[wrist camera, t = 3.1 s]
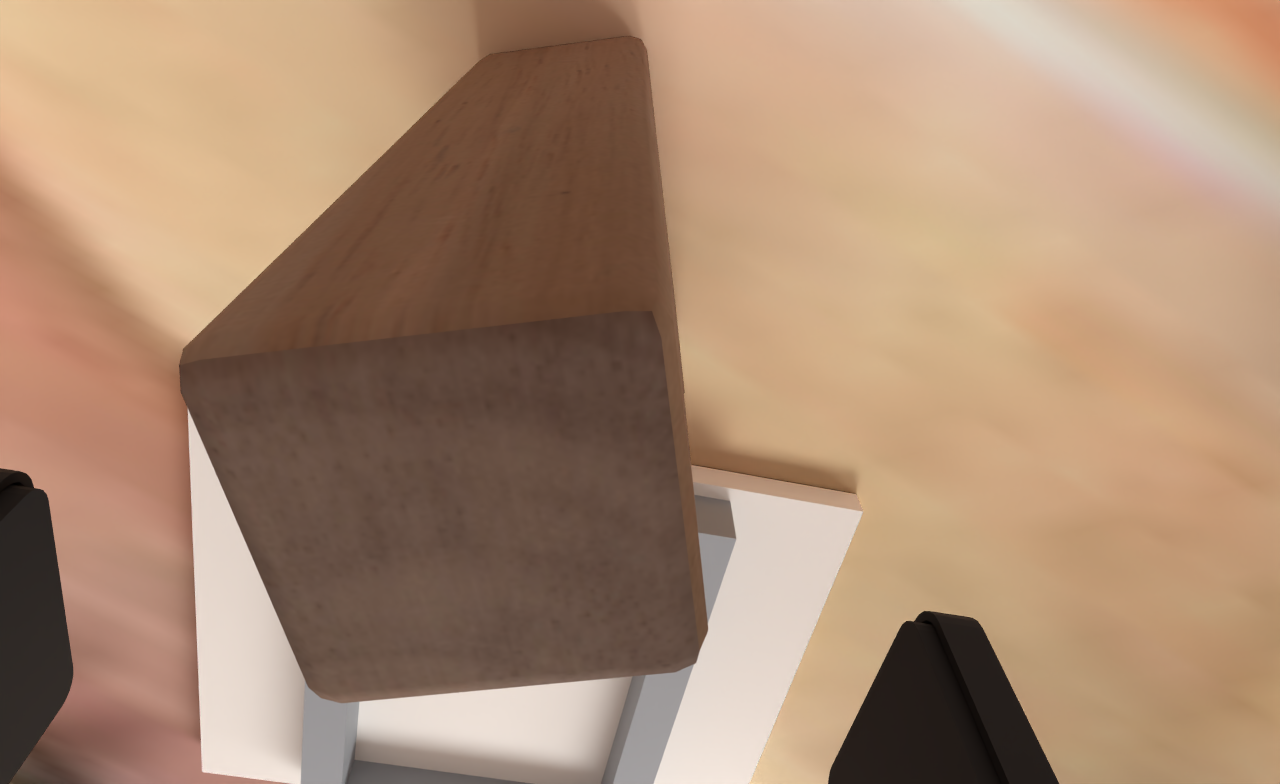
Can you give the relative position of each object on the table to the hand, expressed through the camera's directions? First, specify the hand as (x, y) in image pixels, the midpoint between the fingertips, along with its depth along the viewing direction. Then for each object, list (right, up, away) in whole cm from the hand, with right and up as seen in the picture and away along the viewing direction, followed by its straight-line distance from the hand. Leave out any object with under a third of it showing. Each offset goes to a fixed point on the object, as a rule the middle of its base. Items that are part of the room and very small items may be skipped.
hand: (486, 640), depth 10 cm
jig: (-3, -6, +23) cm, 25 cm away
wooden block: (0, +8, +16) cm, 18 cm away
